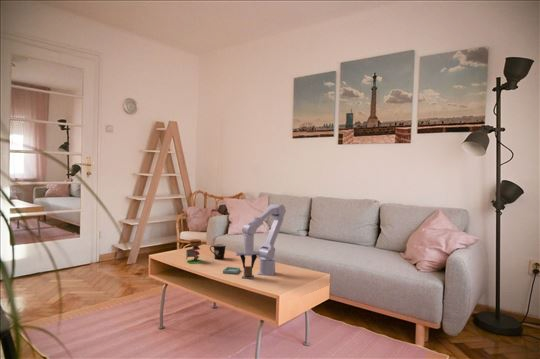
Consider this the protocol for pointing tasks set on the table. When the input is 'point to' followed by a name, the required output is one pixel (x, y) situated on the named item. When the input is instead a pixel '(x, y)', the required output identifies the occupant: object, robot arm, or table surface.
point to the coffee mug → (219, 251)
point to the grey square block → (247, 277)
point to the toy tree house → (194, 252)
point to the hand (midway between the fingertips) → (248, 267)
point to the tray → (231, 270)
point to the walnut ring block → (248, 271)
